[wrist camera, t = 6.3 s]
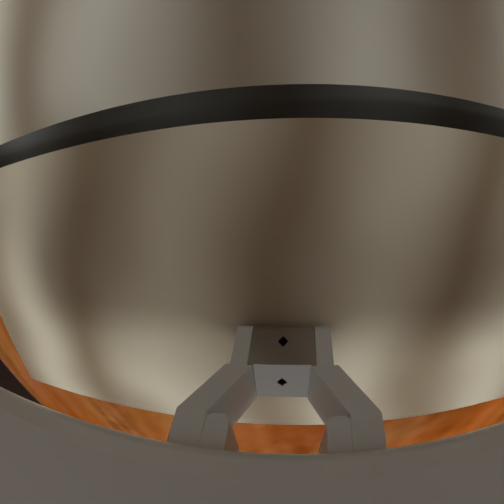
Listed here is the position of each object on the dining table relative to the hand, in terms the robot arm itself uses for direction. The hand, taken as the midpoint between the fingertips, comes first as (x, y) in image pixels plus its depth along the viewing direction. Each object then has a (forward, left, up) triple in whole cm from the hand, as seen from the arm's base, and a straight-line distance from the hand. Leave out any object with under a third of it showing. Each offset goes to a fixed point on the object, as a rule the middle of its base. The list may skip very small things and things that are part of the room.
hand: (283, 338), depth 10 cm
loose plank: (0, -1, -2) cm, 2 cm away
